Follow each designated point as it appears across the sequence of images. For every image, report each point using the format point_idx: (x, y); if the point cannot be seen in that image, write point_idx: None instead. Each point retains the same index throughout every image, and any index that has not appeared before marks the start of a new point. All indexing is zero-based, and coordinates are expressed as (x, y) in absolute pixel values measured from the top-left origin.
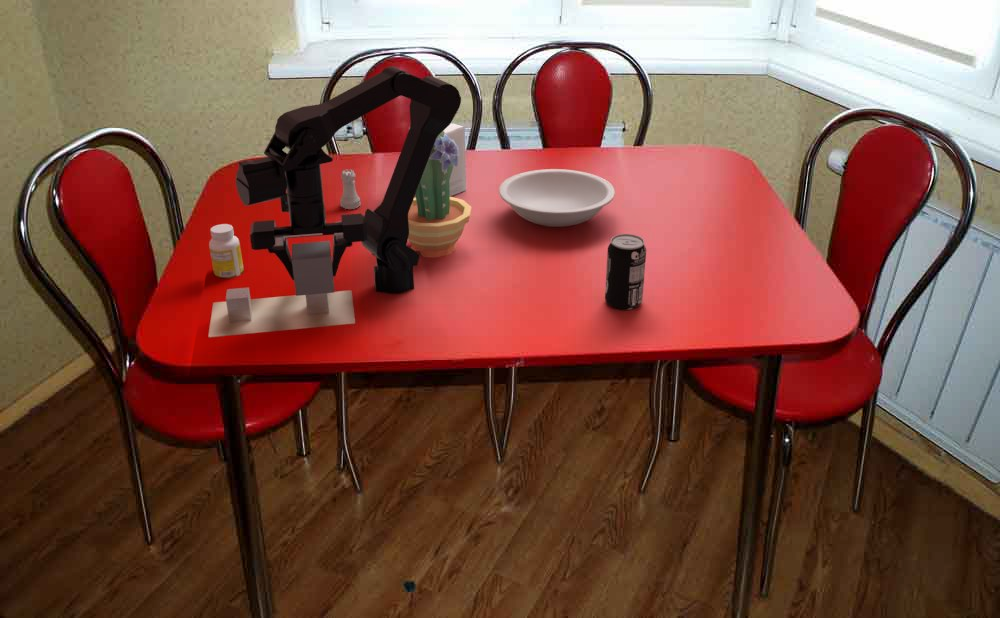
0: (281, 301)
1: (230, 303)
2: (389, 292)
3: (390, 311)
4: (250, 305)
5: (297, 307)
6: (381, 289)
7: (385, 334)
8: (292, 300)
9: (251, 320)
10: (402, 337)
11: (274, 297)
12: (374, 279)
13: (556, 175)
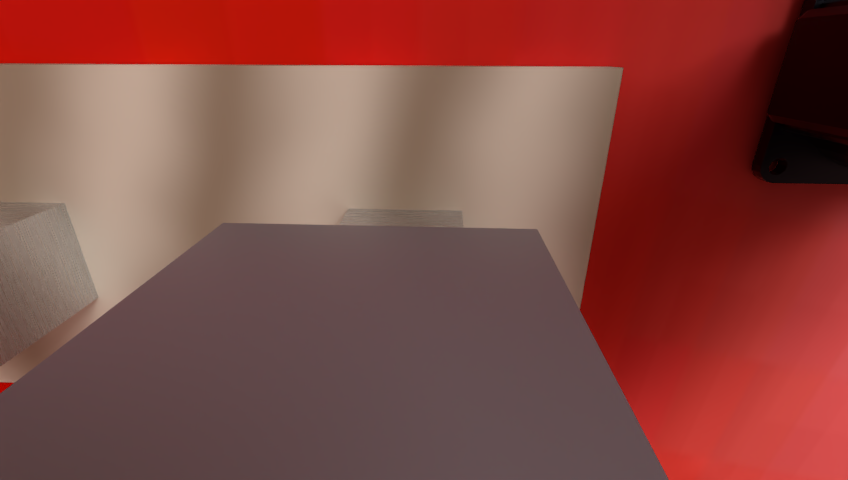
0: (196, 132)
1: None
2: (844, 164)
3: (751, 286)
4: (32, 273)
5: (296, 218)
6: (815, 137)
7: (659, 440)
8: (258, 133)
9: (97, 297)
10: (713, 468)
11: (141, 69)
12: (840, 16)
13: None
